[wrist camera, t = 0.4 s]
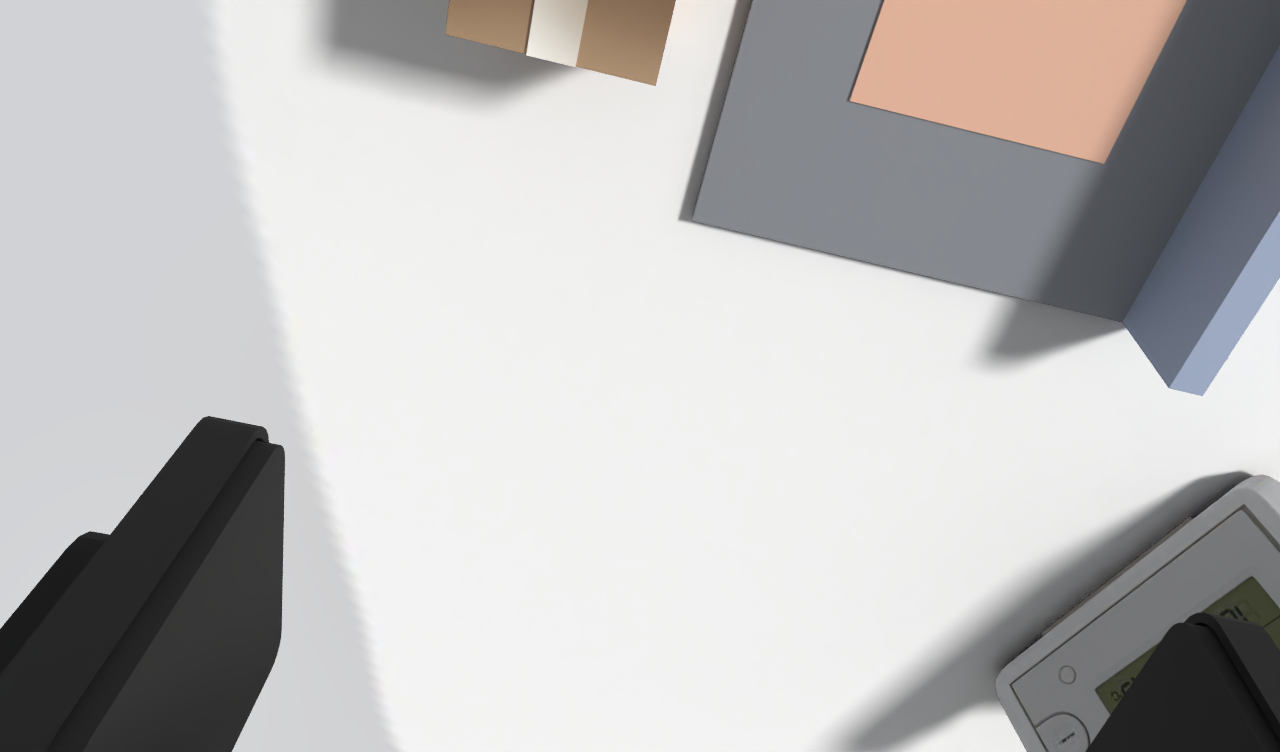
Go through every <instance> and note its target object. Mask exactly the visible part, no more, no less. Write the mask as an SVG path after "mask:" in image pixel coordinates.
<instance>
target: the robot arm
mask: <svg viewBox="0 0 1280 752" xmlns="http://www.w3.org/2000/svg"><path fill="white" fill-rule="evenodd" d="M284 472H285V452H284V448H283V447H282V446H281V445H277V444H271V443H269V440H268V433H267V430H266V429H265V428H264V427H261V426H256V425H251V424H246V423H241V422H236V421H231V420H226V419H221V418H215V417H210V416H208V417H204V418H203V419H202V420H200V422H199V423H197V425H196V426H195V427H194V428H193V430H192V431H191V432H190V434H189V435H188V436H187V437H186V439H185V440H184V441H183V443H182V444H181V445H180V446H179V448H178V449H177V450H176V451H175V453H174V454H173V455H172V457H171V458H170V459H169V460H168V462H167V463H166V464H165V466H164V467H163V468H162V469H161V471H160V472H159V473H158V474H157V476H156V477H155V479H154V480H153V481H152V482H151V484H150V485H149V486H148V487H147V489H146V490H145V491H144V492H143V494H142V495H141V496H140V497H139V499H138V500H137V501H136V503H135V504H134V505H133V506H132V508H131V509H130V510H129V512H128V513H127V514H126V515H125V517H124V518H123V519H122V521H121V522H120V523H119V524H118V526H117V527H116V528H115V530H114V531H113V532H112V533H111V534H110V535H108V534H103V533H97V532H88V533H85V534H83V535H81V536H79V537H78V538H77V539H76V540H75V541H74V542H73V543H72V544H71V545H70V546H69V547H68V548H67V549H66V550H65V551H64V552H63V554H62V555H61V556H60V557H59V559H58V560H57V561H56V562H55V563H54V565H53V566H52V567H51V568H50V569H49V571H48V572H47V573H46V574H45V575H44V577H43V578H42V579H41V580H40V582H39V583H38V584H37V585H36V587H35V588H34V589H33V590H32V591H31V592H30V594H29V595H28V596H27V597H26V599H25V600H24V601H23V602H22V603H21V604H20V606H19V607H18V608H17V610H16V611H15V612H14V613H13V614H12V616H11V617H10V618H9V619H8V620H7V621H6V623H5V624H4V625H3V627H2V628H1V629H0V752H232V750H233V748H234V745H235V743H236V741H237V739H238V737H239V735H240V733H241V731H242V729H243V727H244V725H245V723H246V721H247V719H248V717H249V715H250V713H251V711H252V708H253V706H254V704H255V702H256V700H257V698H258V696H259V694H260V692H261V690H262V688H263V686H264V684H265V682H266V680H267V677H268V675H269V673H270V671H271V669H272V667H273V664H274V662H275V659H276V656H277V652H278V648H279V645H280V639H281V630H282V579H283V577H282V576H283V526H284V524H283V523H284V476H285V473H284ZM1086 752H1280V650H1279V649H1278V647H1277V646H1276V644H1275V643H1274V641H1273V640H1272V638H1271V637H1270V635H1269V634H1268V633H1267V632H1266V631H1265V629H1264V628H1263V627H1262V626H1260V625H1258V624H1256V623H1254V622H1250V621H1245V620H1240V619H1235V618H1230V617H1225V616H1220V615H1215V614H1210V613H1195V614H1193V615H1191V616H1189V617H1188V618H1187V620H1186V621H1185V622H1184V623H1177V624H1174V625H1173V626H1172V627H1171V628H1170V629H1169V630H1168V631H1167V633H1166V634H1165V636H1164V637H1163V638H1162V640H1161V641H1160V643H1159V644H1158V646H1157V647H1156V649H1155V650H1154V652H1153V653H1152V655H1151V656H1150V658H1149V659H1148V661H1147V662H1146V663H1145V665H1144V666H1143V668H1142V669H1141V671H1140V672H1139V674H1138V675H1137V677H1136V678H1135V680H1134V681H1133V683H1132V684H1131V686H1130V687H1129V688H1128V690H1127V691H1126V693H1125V694H1124V696H1123V697H1122V699H1121V700H1120V702H1119V703H1118V705H1117V706H1116V708H1115V709H1114V711H1113V712H1112V713H1111V715H1110V716H1109V718H1108V719H1107V721H1106V722H1105V724H1104V725H1103V727H1102V728H1101V730H1100V731H1099V733H1098V734H1097V735H1096V737H1095V738H1094V740H1093V741H1092V743H1091V744H1090V746H1089V747H1088V749H1087V750H1086Z"/></svg>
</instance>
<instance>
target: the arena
mask: <svg viewBox="0 0 1280 752" xmlns="http://www.w3.org/2000/svg"><path fill="white" fill-rule="evenodd" d="M692 221H696V222H700V223H704V224H709V225H713V226H717V227H721V228H726V229H730V230H734V231H738V232H742V233H747V234H751V235H755V236H759V237H764V238H768V239H772V240H776V241H781V242H785V243H789V244H793V245H797V246H802V247H806V248H810V249H814V250H819V251H823V252H827V253H831V254H836V255H840V256H844V257H848V258H853V259H857V260H861V261H865V262H869V263H874V264H878V265H882V266H886V267H891V268H895V269H899V270H903V271H908V272H912V273H916V274H920V275H925V276H929V277H933V278H937V279H941V280H946V281H950V282H954V283H958V284H963V285H967V286H971V287H975V288H980V289H984V290H988V291H992V292H996V293H1001V294H1005V295H1009V296H1013V297H1018V298H1022V299H1026V300H1030V301H1035V302H1039V303H1043V304H1047V305H1052V306H1056V307H1060V308H1064V309H1068V310H1073V311H1077V312H1081V313H1085V314H1090V315H1094V316H1098V317H1102V318H1107V319H1111V320H1115V321H1119V322H1123V324H1124V325H1125V327H1126V328H1127V330H1128V331H1129V332H1130V334H1131V335H1132V337H1133V338H1134V339H1135V341H1136V342H1137V344H1138V345H1139V347H1140V348H1141V349H1142V351H1143V352H1144V354H1145V355H1146V356H1147V358H1148V359H1149V361H1150V362H1151V363H1152V365H1153V366H1154V368H1155V369H1156V371H1157V372H1158V373H1159V375H1160V376H1161V378H1162V379H1163V380H1164V382H1165V383H1166V385H1167V386H1168V388H1170V389H1174V390H1179V391H1183V392H1187V393H1192V394H1196V395H1200V396H1203V395H1204V393H1205V392H1206V390H1207V389H1208V387H1209V385H1210V384H1211V382H1212V381H1213V379H1214V378H1215V376H1216V375H1217V373H1218V372H1219V370H1220V369H1221V367H1222V365H1223V364H1224V362H1225V361H1226V359H1227V358H1228V356H1229V355H1230V353H1231V352H1232V350H1233V349H1234V347H1235V345H1236V344H1237V342H1238V341H1239V339H1240V338H1241V336H1242V335H1243V333H1244V332H1245V330H1246V329H1247V327H1248V326H1249V324H1250V322H1251V321H1252V319H1253V318H1254V316H1255V315H1256V313H1257V312H1258V310H1259V309H1260V307H1261V306H1262V304H1263V302H1264V301H1265V299H1266V298H1267V296H1268V295H1269V293H1270V292H1271V290H1272V289H1273V287H1274V286H1275V284H1276V282H1277V281H1278V279H1279V278H1280V0H752V2H751V5H750V9H749V12H748V16H747V20H746V23H745V27H744V31H743V34H742V38H741V42H740V45H739V49H738V52H737V56H736V60H735V63H734V67H733V71H732V74H731V78H730V82H729V85H728V89H727V92H726V96H725V100H724V103H723V107H722V111H721V114H720V118H719V121H718V125H717V129H716V132H715V136H714V140H713V143H712V147H711V151H710V154H709V158H708V161H707V165H706V169H705V172H704V176H703V180H702V183H701V187H700V191H699V194H698V198H697V201H696V205H695V209H694V212H693V220H692Z"/></svg>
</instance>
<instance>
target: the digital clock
mask: <svg viewBox="0 0 1280 752" xmlns="http://www.w3.org/2000/svg"><path fill="white" fill-rule="evenodd" d="M1195 613H1210V614H1215V615H1220V616H1225V617H1230V618H1235V619H1240V620H1245V621H1250V622H1254V623H1256V624H1258V625H1260V626H1262V627H1263V628H1264V629H1265V631H1266V632H1267V633H1268V634H1269V635H1270V637H1271V638H1272V640H1273V641H1274V643H1275V644H1276V646H1277V647H1278V649H1279V650H1280V483H1279V482H1278V481H1276V480H1274V479H1273V478H1271V477H1269V476H1265V475H1257V476H1252V477H1250V478H1248V479H1246V480H1244V481H1242V482H1241V483H1239V484H1238V485H1236V486H1235V487H1233V488H1232V489H1231V490H1230V491H1228V492H1227V493H1226V494H1224V495H1223V496H1222V497H1221V498H1219V499H1218V500H1217V501H1216V502H1214V503H1213V504H1212V505H1210V506H1209V507H1208V508H1207V509H1205V510H1204V511H1203V512H1201V513H1200V514H1199V515H1198V516H1196V517H1195V518H1193V517H1191V516H1190V517H1188V518H1187V519H1186V520H1185V521H1183V522H1182V523H1181V524H1179V525H1178V526H1177V527H1176V528H1174V529H1173V530H1172V531H1171V532H1169V533H1168V534H1167V535H1165V536H1164V537H1163V538H1162V539H1160V540H1159V541H1158V542H1157V543H1155V544H1154V545H1153V546H1151V547H1150V548H1149V549H1148V550H1146V551H1145V552H1144V553H1143V554H1141V555H1140V556H1139V557H1137V558H1136V559H1135V560H1134V561H1132V562H1131V563H1130V564H1129V565H1127V566H1126V567H1125V568H1123V569H1122V570H1121V571H1120V572H1118V573H1117V574H1116V575H1115V576H1113V577H1112V578H1111V579H1109V580H1108V581H1107V582H1106V583H1104V584H1103V585H1102V586H1101V587H1099V588H1098V589H1097V590H1095V591H1094V592H1093V593H1092V594H1090V595H1089V596H1088V597H1087V598H1085V599H1084V600H1083V601H1081V602H1080V603H1079V604H1078V605H1076V606H1075V607H1074V608H1073V609H1071V610H1070V611H1069V612H1067V613H1066V614H1065V615H1064V616H1062V617H1061V618H1060V619H1059V620H1057V621H1056V622H1055V623H1053V624H1052V625H1051V626H1050V627H1048V628H1047V629H1046V630H1045V631H1043V632H1042V633H1041V635H1042V638H1041V639H1039V640H1038V641H1037V642H1035V643H1034V644H1033V645H1032V646H1030V647H1029V648H1028V649H1027V650H1025V651H1024V652H1023V653H1021V654H1020V655H1019V656H1018V657H1016V658H1015V659H1014V660H1012V661H1011V662H1010V663H1009V664H1007V665H1006V666H1005V667H1004V668H1003V669H1002V670H1001V672H1000V673H999V674H998V676H997V678H996V681H995V689H996V693H997V696H998V698H999V700H1000V702H1001V704H1002V707H1003V709H1004V710H1005V712H1006V714H1007V716H1008V718H1009V720H1010V721H1011V723H1012V725H1013V727H1014V729H1015V731H1016V732H1017V734H1018V736H1019V738H1020V740H1021V742H1022V743H1023V745H1024V747H1025V749H1026V751H1027V752H1086V750H1087V749H1088V747H1089V746H1090V744H1091V743H1092V741H1093V740H1094V738H1095V737H1096V735H1097V734H1098V733H1099V731H1100V730H1101V728H1102V727H1103V725H1104V724H1105V722H1106V721H1107V719H1108V718H1109V716H1110V715H1111V713H1112V712H1113V711H1114V709H1115V708H1116V706H1117V705H1118V703H1119V702H1120V700H1121V699H1122V697H1123V696H1124V694H1125V693H1126V691H1127V690H1128V688H1129V687H1130V686H1131V684H1132V683H1133V681H1134V680H1135V678H1136V677H1137V675H1138V674H1139V672H1140V671H1141V669H1142V668H1143V666H1144V665H1145V663H1146V662H1147V661H1148V659H1149V658H1150V656H1151V655H1152V653H1153V652H1154V650H1155V649H1156V647H1157V646H1158V644H1159V643H1160V641H1161V640H1162V638H1163V637H1164V636H1165V634H1166V633H1167V631H1168V630H1169V629H1170V628H1171V627H1172V626H1173V625H1174V624H1177V623H1184V622H1185V621H1186V620H1187V618H1188V617H1189V616H1191V615H1193V614H1195Z"/></svg>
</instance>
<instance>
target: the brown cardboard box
mask: <svg viewBox="0 0 1280 752" xmlns="http://www.w3.org/2000/svg"><path fill="white" fill-rule="evenodd" d="M675 1H676V0H449V8H448V16H447V25H446V35H450V36H454V37H458V38H462V39H466V40H470V41H474V42H478V43H482V44H487V45H491V46H495V47H499V48H503V49H507V50H511V51H515V52H519V53H523V54H526V55H527V56H531V57H535V58H539V59H543V60H547V61H551V62H556V63H560V64H564V65H568V66H572V67H580V68H584V69H589V70H593V71H597V72H601V73H605V74H609V75H613V76H617V77H621V78H625V79H629V80H633V81H637V82H642V83H646V84H650V85H654V86H656V82H657V78H658V74H659V69H660V65H661V61H662V57H663V52H664V48H665V44H666V40H667V35H668V31H669V27H670V23H671V18H672V14H673V10H674V5H675Z"/></svg>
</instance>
